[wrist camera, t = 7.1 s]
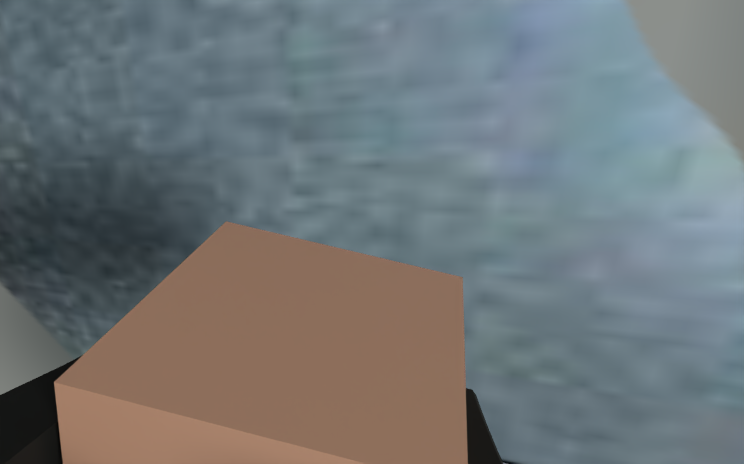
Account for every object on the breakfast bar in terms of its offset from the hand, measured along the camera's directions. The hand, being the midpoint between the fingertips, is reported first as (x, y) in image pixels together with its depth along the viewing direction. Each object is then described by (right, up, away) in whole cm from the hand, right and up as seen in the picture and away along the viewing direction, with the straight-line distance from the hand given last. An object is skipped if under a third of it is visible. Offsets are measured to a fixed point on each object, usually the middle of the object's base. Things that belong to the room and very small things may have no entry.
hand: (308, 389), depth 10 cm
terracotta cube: (0, +1, +1) cm, 1 cm away
